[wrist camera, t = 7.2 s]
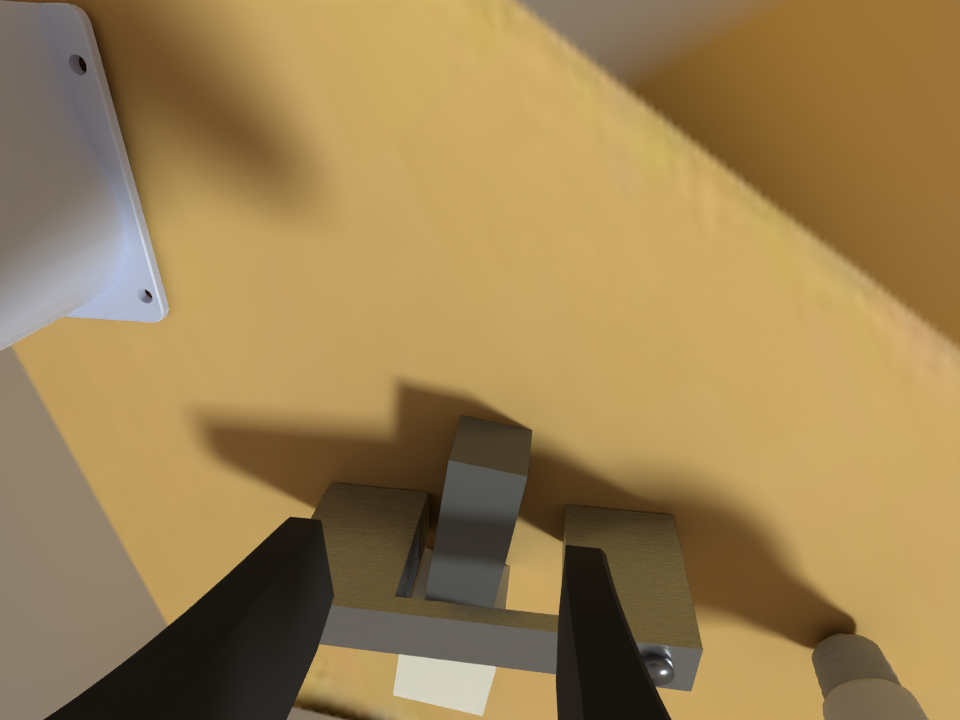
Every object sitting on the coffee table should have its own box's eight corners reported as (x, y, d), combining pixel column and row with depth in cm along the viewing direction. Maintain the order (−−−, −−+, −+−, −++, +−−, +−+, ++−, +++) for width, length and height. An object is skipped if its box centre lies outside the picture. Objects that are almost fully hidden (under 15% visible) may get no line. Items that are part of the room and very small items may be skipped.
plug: (447, 412, 21) (424, 485, 18) (545, 433, 21) (541, 510, 18) (416, 609, 27) (393, 694, 23) (493, 627, 27) (482, 715, 23)
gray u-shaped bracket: (330, 482, 24) (263, 605, 19) (673, 515, 22) (704, 659, 17) (335, 519, 25) (274, 646, 20) (665, 553, 23) (692, 700, 18)
